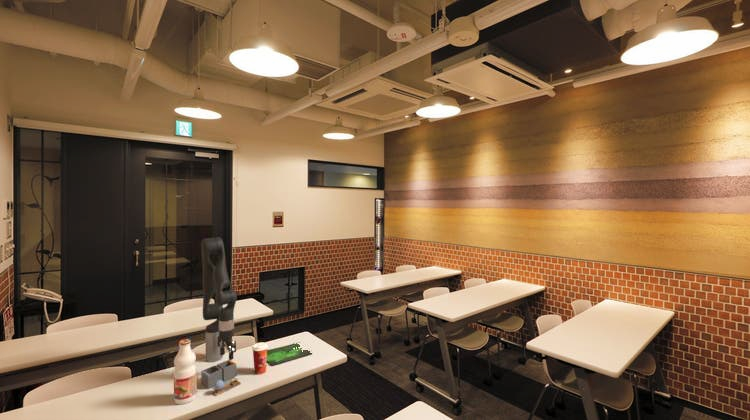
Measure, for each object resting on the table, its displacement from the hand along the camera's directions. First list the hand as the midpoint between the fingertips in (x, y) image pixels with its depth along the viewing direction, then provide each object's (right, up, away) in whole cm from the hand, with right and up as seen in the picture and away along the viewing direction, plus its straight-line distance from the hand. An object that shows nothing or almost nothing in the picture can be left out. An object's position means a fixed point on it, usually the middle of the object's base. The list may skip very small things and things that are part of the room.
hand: (226, 357), depth 175 cm
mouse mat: (+25, -11, +28) cm, 39 cm away
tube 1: (-5, -11, -7) cm, 13 cm away
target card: (+2, -11, -7) cm, 13 cm away
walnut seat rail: (+5, -11, -11) cm, 17 cm away
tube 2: (0, -11, 0) cm, 11 cm away
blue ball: (+3, -7, -15) cm, 17 cm away
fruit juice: (-11, -11, -20) cm, 25 cm away
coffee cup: (+16, -11, +5) cm, 20 cm away
